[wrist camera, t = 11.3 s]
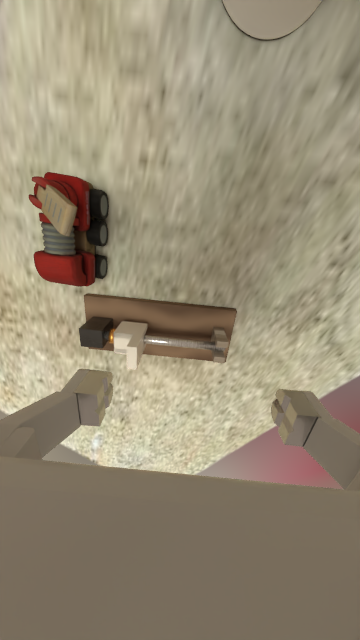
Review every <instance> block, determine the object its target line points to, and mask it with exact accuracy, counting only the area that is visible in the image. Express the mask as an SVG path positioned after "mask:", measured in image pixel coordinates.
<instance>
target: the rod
mask: <svg viewBox="0 0 360 640" xmlns="http://www.w3.org/2000/svg"><path fill="white" fill-rule="evenodd" d="M115 330H116V329H113V318H105V317H95V316H93V317H92V318H91V319H89V320H88V321H87V322H86V323H85V324H84V325H83V326H81V327H80V328H79V333H80V342H81V346H84V347H94V348H103V347H104V346H105V345H106V343H107V342H108V341H109V343H113V344H114V331H115ZM144 343H145V344H155V345H165V346H175V347H184V348H194V349H204V350H214V351H225V348H220V347H216V344H215V342H210V341H200V340H190V339H180V338H170V337H161V336H151V335H144Z"/></svg>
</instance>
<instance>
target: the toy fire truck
mask: <svg viewBox="0 0 360 640" xmlns="http://www.w3.org/2000/svg"><path fill="white" fill-rule="evenodd" d="M32 181H34V182H35V183H36V184H35V187H34V195H29V200H30V201H31V202H32V204H33V205H35V206H36V207H37V208H39V209H41V210H42V212H43V213H39V217H40V221H41V222H42V223H41V227H42V228H43V230H42V233H43V234H44V236H43V240H44V241H45V242H44V246H45V248H44V250H43V251H37V252H35V254H34V263H35V267H36V269H37V271H38V273H39V275H40V276H41V277H42V278H44V279H45V280H47V281H50V282H55V283H61V284H67V285H73V286H89V285H91V284H93V283H94V282H95V278H101V279H103V278H104V277H105V275H106V272H107V260H106V257H105V256H100V255H95V245H96V246H105V245H106V242H107V239H108V238H107V237H108V231H107V225H106V223H105V222H104V221H97V220H95V217H96V218H102V219H105V218H106V216H107V214H108V198H107V195H106V193H105V192H104V191H102V190H96V189H93V186H92V185H91V184H90V183H89V182H87V181H84V180H82V179H80V178H78V177H73V176H68V175H63V174H57V173H51V172H47V173H46V174H45V176H44V178H43V177H32Z"/></svg>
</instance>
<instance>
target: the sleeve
mask: <svg viewBox="0 0 360 640" xmlns="http://www.w3.org/2000/svg"><path fill="white" fill-rule="evenodd" d="M146 330H147V324H146V323H136V322H126V321H122V322H121V323H120V325H119V326H118V327H117V329H116V330H115V331H114V353H118V354H127V369H136V370H137V367H138V365H139V362H140V359H141V357H142V354H143V351H144V349H145V346H146V344H145V343H144V335H145V333H146Z"/></svg>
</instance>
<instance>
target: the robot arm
mask: <svg viewBox="0 0 360 640" xmlns="http://www.w3.org/2000/svg"><path fill="white" fill-rule="evenodd" d="M222 1H223V3H224V6H225V8H226V10H227V12H228V14H229V16H230V17H231V19H232V20H233V21H234V23H235V24H236V25H237V26H238V27H239V28H240V29H241V30H242V31H244V32H245V33H247V34H248V35H250V36H252V37H255V38H259V39H276V38H279V37H282V36H285V35H287V34H289V33H291V32H292V31H294V30H295V29H297V28H298V27H299V26H301V25H302V24H303V23H304V22H305V21H306V20H307V19H308V18H309V17H310V16H311V15H312V14H313V12H314V11H315V10H316V9H317V7H318V6H319V4H320V3H321V1H322V0H222ZM112 379H113V376H112V373H111V372H106V371H98V370H89V369H79V370H78V371H77V372H76V373H75V374H74V376H73V377H72V378H71V379H70V381H69V382H68V383H67V384H66V385H65V387H64V388H63V389H62V390H61V392H55V393H53V394H51V395H49V396H47V397H45V398H43V399H41V400H39V401H37V402H35V403H33V404H31V405H29V406H27V407H25V408H23V409H21V410H19V411H17V412H15V413H13V414H11V415H9V416H7V417H5V418H3V419H1V420H0V640H360V434H359V433H357V432H356V431H354V430H353V429H351V428H350V427H348V426H347V425H345V424H344V423H342V422H340V421H339V420H338V419H333V417H332V416H331V415H330V414H329V412H328V411H327V410H326V408H325V407H324V406H323V405H322V403H320V401H319V400H318V398H317V397H316V396H315V395H314V393H312V392H311V391H296V390H286V389H278V390H277V392H276V397H277V399H276V400H275V401H274V402H273V403H272V406H271V415H272V418H273V421H274V423H275V424H277V425H278V426H279V430H278V432H279V434H280V436H281V438H282V440H283V443H284V444H285V445H293V446H301V447H303V448H304V449H305V450H306V451H307V452H308V453H309V454H310V455H311V456H312V457H313V458H314V459H315V460H316V461H317V462H318V463H319V464H320V465H321V466H322V467H323V468H324V469H325V470H326V471H327V472H328V473H329V474H330V475H331V476H332V477H333V478H334V479H335V480H336V481H337V482H338V483H339V484H340V485H341V486H342V487H343V489H344V490H342V489H333V488H323V487H312V486H302V485H292V484H281V483H270V482H261V481H250V480H239V479H229V478H219V477H209V476H199V475H189V474H179V473H168V472H158V471H148V470H138V469H127V468H117V467H107V466H96V465H86V464H76V463H65V462H54V461H45V460H42V458H43V457H44V456H45V455H46V454H47V453H49V452H50V451H51V450H52V449H53V448H55V447H56V446H57V445H58V444H59V443H61V442H62V441H63V440H64V439H66V438H67V437H68V436H69V435H70V434H72V433H73V432H74V431H75V430H76V429H78V428H79V427H80V425H89V426H100V425H101V422H102V420H103V418H104V416H105V409H106V408H107V407H109V405H110V403H111V400H112V396H113V386H112V384H111V381H112Z"/></svg>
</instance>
